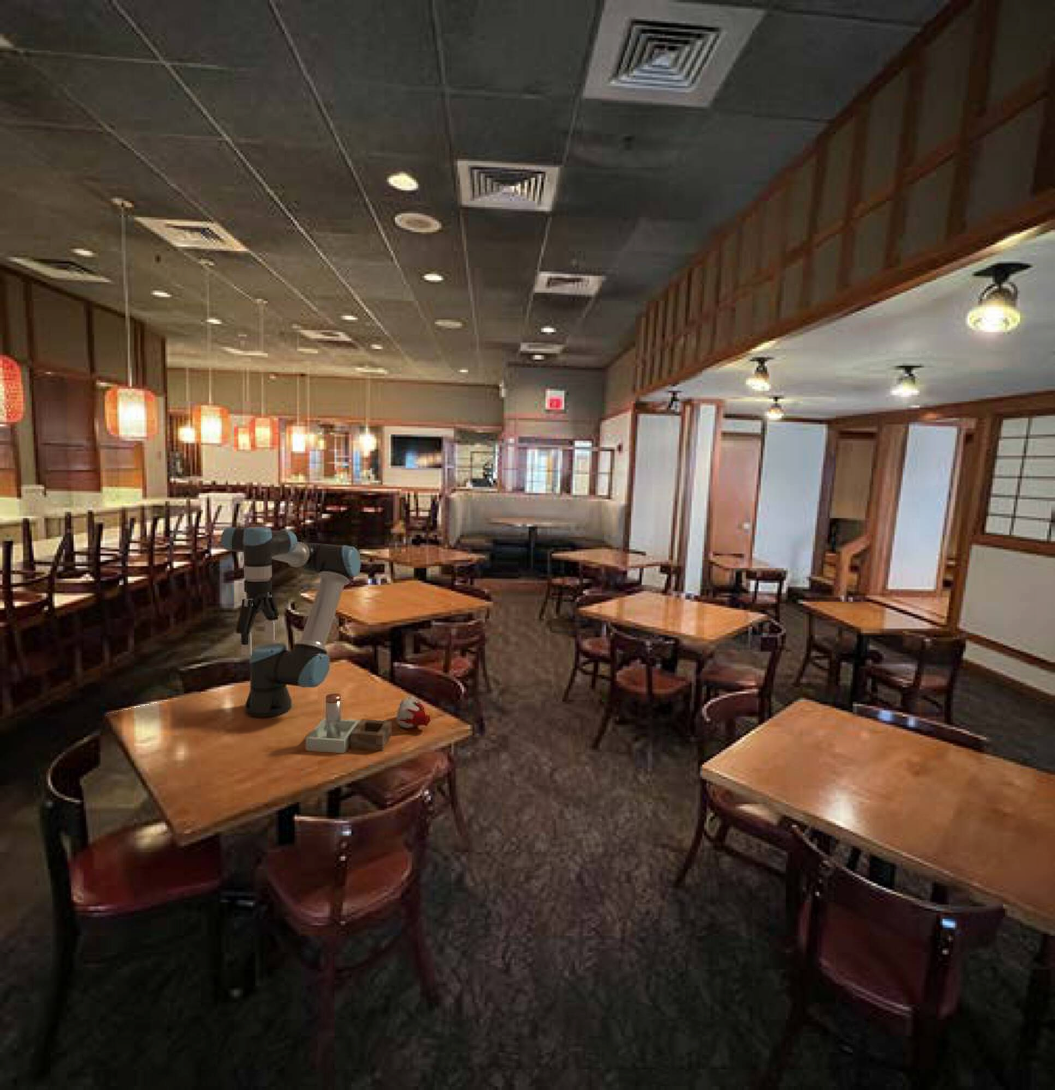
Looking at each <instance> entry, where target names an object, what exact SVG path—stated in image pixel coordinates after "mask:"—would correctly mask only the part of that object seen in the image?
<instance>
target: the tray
mask: <svg viewBox="0 0 1055 1090" xmlns="http://www.w3.org/2000/svg"><path fill="white" fill-rule="evenodd" d="M360 721H361V720H356V719H343V718H341V738H340V739H333V738H326V717H324V718H323V719H322V720H321V721H320V722H319V723H318V724H317V725H316V727H315V728H313V729H312V731H310V733H309V734H308V735H307V736H306V737H305V751H311V752H324V753H338V754H339V753H340V754H345V753H346V752H347V750H348V749H349V747H351V733H352V731H353V730H354V729H355V727H356V726H357V725H358V724H359V722H360Z"/></svg>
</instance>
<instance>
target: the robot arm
mask: <svg viewBox="0 0 1055 1090" xmlns="http://www.w3.org/2000/svg"><path fill="white" fill-rule="evenodd" d="M220 543H221V544H220V545H221V547H222V548H223V549H225V550H226V551H231V552H241V553H243V568H242V569H243V577H244V579H245V580H243V591H244V593H246V594H247V595H248V598H242V600H241V608H240V613H239V616H238V621H237V624H236V629H235V634H240V645H241V648H240V649H241V653H240V654H241V656H249V680H250V681H249V689H250V690H249V694H248V696H247V699H246V701H245V704H244V713H245V715H247V716H248V717H250V718H254V719H255V718H257V719H267V718H273V717H277V716H280V715H284V714H285V713H287V712H289V711H290V710H291V708H292V706H293V704H292V698H291V695H290V692H289V690H288V686H292V687H294V686H295V687H301V688H317V687H318V686H320V685H321V684H323V683H324V681H325V679H326V678H327V676H328V674H329V672H330V668H331V667H330V666H331V658H330V657H329V656H328V650H327V648H326V645H327V640H328V637H329V633H330V630H331V628H332V624H333V622H334V618H335V616H336V612H337V609H338V607H339V606H338V605H339V603H340V599H341V598H342V593H343V590H344V587H345V586H347V585H349V584H350V582H351V578H356V577H357V576H358V575H359V573H360V571H361V563H362V562H361V556H360V552H359V551H358V550H357V548H356V547H354V546H349V545H346V544H345V545H342V544H341V545H339V544H327V543H311V542H310V543H305V542H300V541H298V538H297V535H296V534H295V533H294V532H293V531H291V530H289V529H280V530H273V529H271V528H270V527H268V526H250V527H246V528H244V527H238V526H236V527H235V526H234V527H233V526H232V527H227V528H224V530H223V531H222V533H221V537H220ZM272 560H275V561H278V562H284V563H287V564H288V566H290V567H293V568H296V569H299V570H303V571H306V572H310V573H313V574H318V577H319V579H320V581H319V584H318V587H317V590H316V593H315V596H314V600H313V601H312V604H311V608H310V610H309V611H310V612H309V614H308V617H307V619H306V623H305V626H304V628H303V631H302V635H301V637H300V640H299V641H297V642H295V643H294V644H293V646H292V649H291V650H288V648H287V645H286V644H285V643H282V642H277V643H276V642H275V639H276V637H275V636H276V635H275V632H276V631H275V629H276V628H275V627H276V626H275V625H276V624H275V622H276V621H278V620H279V615H280V614H279V609H278V607H277V603H276V600H275V596H274V590H273V580H272V579H271V578H272V577H273V563H272V562H273V561H272ZM260 610H261V612H262V613H263V615H264V617H265V618H266V619H265V620H264V640H265V641H267V642H269V641H270V642H274V643H268V644H263V645H260V646H257V647H255V648H254V649H253V648H252V647H253V643H252V642H253V641H252V639H253V638H252V637H253V633H252V632H251V629H252V627H253V625H254V621H255V619H256V616H257V614H258V613H259V612H260ZM287 685H288V686H287Z"/></svg>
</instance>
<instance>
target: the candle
mask: <svg viewBox="0 0 1055 1090" xmlns="http://www.w3.org/2000/svg"><path fill="white" fill-rule="evenodd" d="M396 722H397V724H398V725H399V726H400V727H401V728H402V729H406V730H409V729H414V728H417V727H419V726H425V727H427V726H428V725H429V724H430V722H431V716H430V715H428V714H426V712H425V707H424V703H423V701H422V700H421V699H418V698H417V697H415V696H413V695H411V696H409V697H404V698H402V700H401V701H400V703H399V707H398V709H397V714H396Z"/></svg>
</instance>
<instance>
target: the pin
mask: <svg viewBox="0 0 1055 1090" xmlns="http://www.w3.org/2000/svg"><path fill="white" fill-rule="evenodd" d="M341 708H342V707H341V694H340V693H330V694H327V695H326V696H325V718H326V738H333V739H340V738H341V719H342V718H341V717H342V713H341V712H342V709H341Z"/></svg>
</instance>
